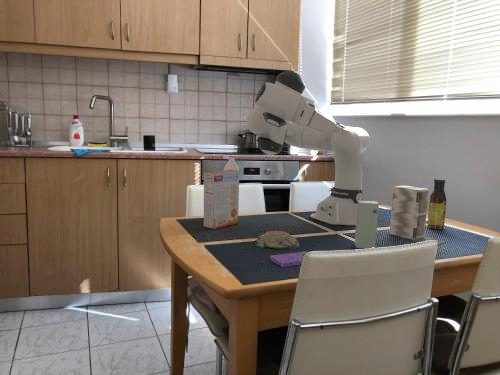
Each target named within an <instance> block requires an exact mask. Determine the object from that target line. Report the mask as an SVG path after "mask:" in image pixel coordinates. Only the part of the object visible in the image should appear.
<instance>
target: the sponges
mask: <svg viewBox="0 0 500 375" xmlns="http://www.w3.org/2000/svg"><path fill="white" fill-rule="evenodd" d="M307 252H308V251H307V250H305V251H298V252H291V253H282V254H281V253H280V254H275V255H274V254H272V255H270V256H269V259H270V261H271V262H272V263H275V264H276V265H278V266H280V267H282V268H286V267H291V266H292V267H293V266H299V265H300V264H301V261H302V258H303V255H304V254H305V253H307Z"/></svg>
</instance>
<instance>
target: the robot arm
mask: <svg viewBox="0 0 500 375" xmlns="http://www.w3.org/2000/svg"><path fill="white" fill-rule="evenodd" d="M305 89H306V84H305V81H304V78H303V76H301V75H300V74H299V73H297V72H296V71H292V70H286V71H282V72H280V73H278V74H277V77H276V79H275V83H272V82H264V83H263V84H262V85H261V86H260V89H258V92H257V94H256V97H255V100H254V101H255V102H254V103H255V105H256V106H255V107H254V108H252V109H251V111H250V112H249V113H248V114H247V117H246V126H247V129H248V130H249V131H250V133H253V134H254V135H258V137H257V138H256V139H255V141H256V142H257V147H258V148H259V150H260V151H261V152H263V153H264V154H267V155H277V154H280V153H281V151H282V149H283V147H284V143H285V144H287V145H289V146H292V147H296V148H299V149H305V150H312V151H320V152H331V153H333V159H334V172H335V173H334V183H333V184H334V186H333V187H331V188H330V187H329V188H328V192H330V193H329V194H330V195H328V196H327V197H326V198H324V199H323V200H321V201H320V202H318V203H317V206H316V212H315V213H311V214H310V218H312V219H314V220H318V221H321V222H324V223H326V224H329V225H339V226H340V225H341V226H342V225H344V226H356V218H357V205H358V201H363V176H364V173H363V172H364V169H363V168H364V167H363V165H362V159H361V158H362V156H361V153H363V152H365V151H366V150H367V149H368V148H369V147H370V144H371V136H370V135H369V133H368V132H367V131H366V130H365V129H364V128H361V127H357V126H356V127H355V126H345V125H344V124H341V123H339V122H338V121H337V120H335V119H334V118H333V116H332V115H331V114H328V113H326V112H324V111H322V110H320V107H317V106H316V105H317V102H316V101H315V100H314V99H313V100H312V99H311V98H308V97H306V96H304V95H303V92H304V91H305Z"/></svg>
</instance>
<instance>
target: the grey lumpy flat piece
mask: <svg viewBox="0 0 500 375" xmlns="http://www.w3.org/2000/svg"><path fill="white" fill-rule="evenodd" d="M254 242H255V243H254V245H256V246H258V247H260V248H263V249H264V248H269V249H276V250H285V251H286V250H294V249H297V248H298V247H300V243H299V241H298V239H297V238H296V237H294V236H293V235H291V234H290V233H289V232H286V231H282V230H281V231H280V230H270V231H269V230H268V231H266V232H264V233H263V234H261V235H259V236H257V238H256V239H255V240H254Z"/></svg>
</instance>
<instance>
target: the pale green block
mask: <svg viewBox="0 0 500 375" xmlns="http://www.w3.org/2000/svg"><path fill="white" fill-rule="evenodd" d="M379 206H380V204H379V202H378V201H374V200H373V201H371V200H362V201H358V205H357V218H356V225H355V233H354V234H355V235H354V246H355V248H356V249H367V248H372V247H375V248H376V244H377V242H376V241H377V232H378V231H377V230H378V219H379V208H380V207H379Z"/></svg>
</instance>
